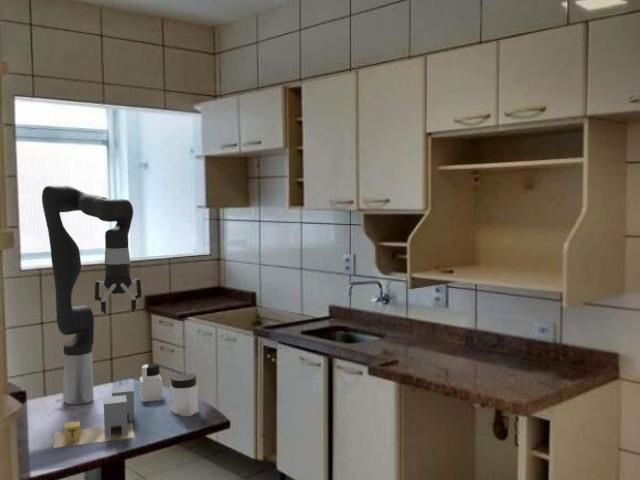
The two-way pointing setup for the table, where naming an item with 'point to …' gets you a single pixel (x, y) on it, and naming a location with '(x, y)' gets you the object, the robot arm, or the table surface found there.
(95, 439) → the birch board
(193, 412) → the jar
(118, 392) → the cube cover
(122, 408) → the empty cover
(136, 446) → the table surface
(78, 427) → the letter cube
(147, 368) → the medicine bottle
